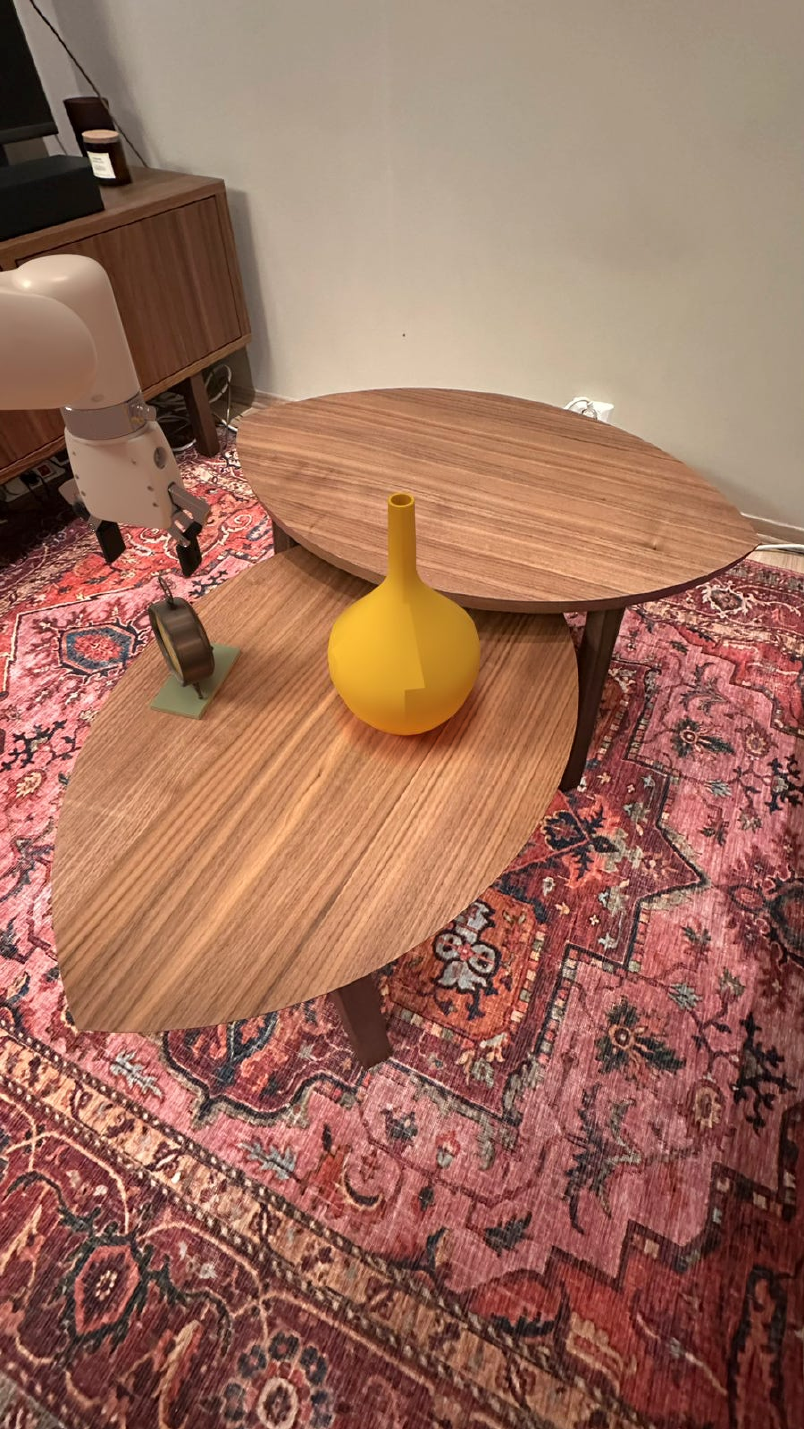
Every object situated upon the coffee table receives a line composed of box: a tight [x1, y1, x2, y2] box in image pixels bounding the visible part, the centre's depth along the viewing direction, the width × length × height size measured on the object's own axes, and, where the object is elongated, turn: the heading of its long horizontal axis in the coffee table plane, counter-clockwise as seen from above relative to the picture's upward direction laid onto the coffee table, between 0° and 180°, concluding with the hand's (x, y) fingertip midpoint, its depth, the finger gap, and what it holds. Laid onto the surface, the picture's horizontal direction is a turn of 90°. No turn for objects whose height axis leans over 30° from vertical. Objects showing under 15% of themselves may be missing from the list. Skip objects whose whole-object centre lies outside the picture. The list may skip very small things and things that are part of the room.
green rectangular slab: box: [149, 642, 243, 721], centre depth 92 cm, size 13×7×1 cm, turn 164°
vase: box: [326, 492, 482, 736], centre depth 78 cm, size 18×18×30 cm
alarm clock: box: [147, 575, 215, 699], centre depth 86 cm, size 11×5×16 cm, turn 34°
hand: (154, 562), depth 78 cm, fingers open, 9 cm apart
